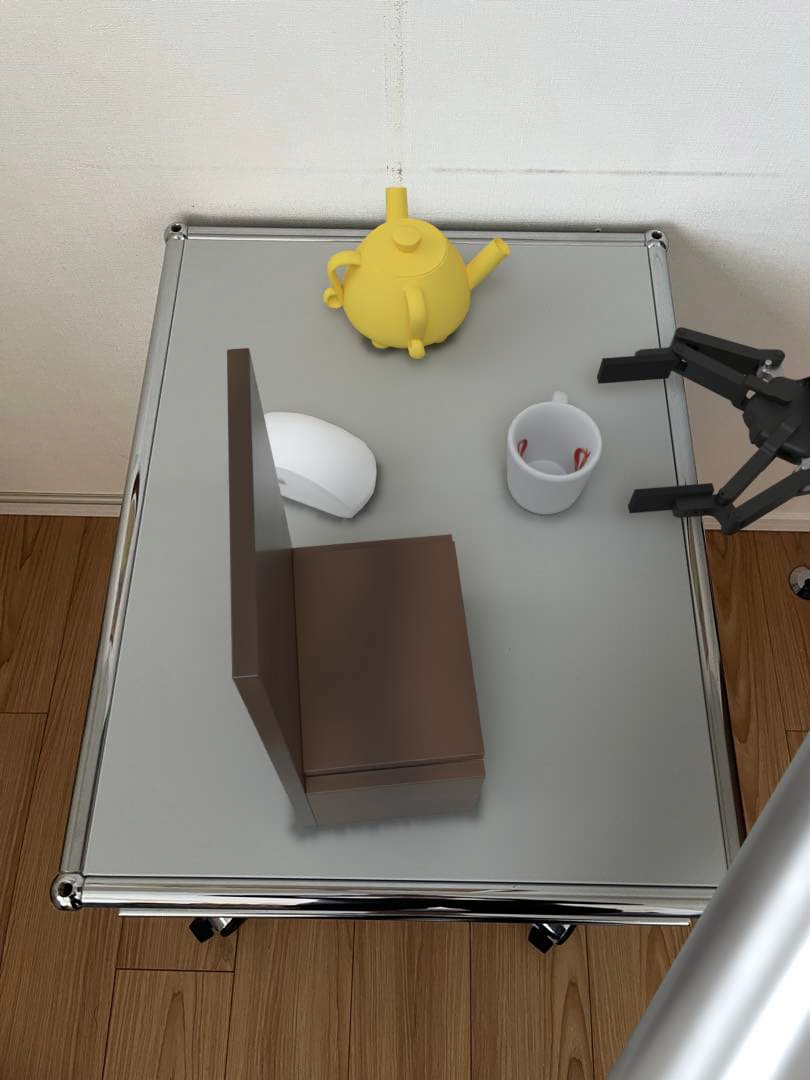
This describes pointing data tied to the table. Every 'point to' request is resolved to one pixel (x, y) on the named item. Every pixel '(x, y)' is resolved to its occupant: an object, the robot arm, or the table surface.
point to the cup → (551, 454)
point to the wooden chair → (346, 650)
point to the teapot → (407, 280)
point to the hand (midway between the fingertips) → (615, 433)
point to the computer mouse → (320, 463)
